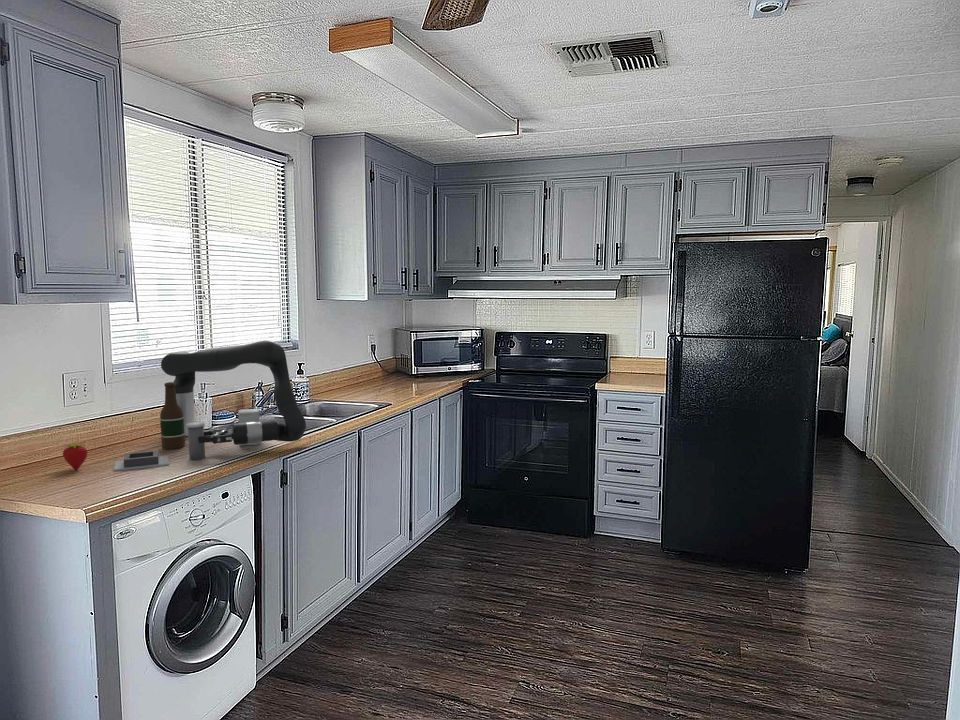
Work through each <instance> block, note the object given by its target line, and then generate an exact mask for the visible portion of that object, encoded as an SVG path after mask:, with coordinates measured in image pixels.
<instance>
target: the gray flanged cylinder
mask: <svg viewBox="0 0 960 720" xmlns="http://www.w3.org/2000/svg"><path fill="white" fill-rule="evenodd" d="M205 425H206V423H205V422H203V421H195V422H193V423H188V424H186V427H188V436H187V439H188V457H189V458H188V459H189V460H190V461H199V460H205V458H206V446H205V443H199V442H198V437H199V436H204V431H205Z"/></svg>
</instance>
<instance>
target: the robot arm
mask: <svg viewBox="0 0 960 720" xmlns="http://www.w3.org/2000/svg"><path fill="white" fill-rule="evenodd" d="M245 364H258V365H262V366H263V367H264V366H265V367H268V368H269V370H270V372H271V373H272V376H273V379H274V387H273V396H274V401H275V404H276V407H277V409H278V412H279V415H280V416H281V417H283V420H284V423H277V421H275V420H267V421H260V422H245V423H239V422H236V423H235V422H234V423H233V424H232V428H231V429H229V427H221V428H210V429H209V430H204V436H199V437H198V442H199V443H206V444H207V443H211V444H214V445H216V444H222V443H223V444H224V443H225V444H226V443H231V442H232V443H233V445H235V446H237V445H238V446H239V445H240V444H250V443H257V442H260V443H261V442H269V441H270V442H271V441H277V442H295V441H299V440H301V439H302V438H303V436H304V434H305V432H306V429H307V423H306V419H305V416H304V415H303V412H302V410H301V409H300V408H299V405H298V402H297V399H296V397H295V393H294V391H293V388H292V384H291V380H290V379H291V378H290V375H289V368H288V362H287V356H286V352H285V349H284V347H282V346H281V345H280V344H278V343H276V342H273V341H270V340H259V341H255V342H250V343H248V344H242V345H229V346H228V345H227V346H219V347H212V348H207V349H202V350H198V351H193V352H189V351H178V352H177V351H175V352H170V353H168V354H166V355H165V356H163V358H162V359H161V363H160V368H161V370H162V371H163V373H165V374H166V375H168V376H171V377H174V380H173V382H174V383H175V384H176V385H175V392H176V399H177V404H178V405H179V406H180V408H181V409H182V411H183V417H184V434H185V437H188V427H186V424H188V423H193V422H196V413H195V412H196V410H195V395H194V394H195V393H194V391H195V390H194V387H195V384H196V372H198V373H199V372H200V373H201V372H202V373H204V372H205V373H206V372H208V373H210V372H227V371H231V370H234V369H236V368H238V367H239V366H241V365H245Z"/></svg>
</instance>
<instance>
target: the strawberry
mask: <svg viewBox="0 0 960 720" xmlns="http://www.w3.org/2000/svg"><path fill="white" fill-rule="evenodd" d="M77 440H78V438H76V439H75V442H77ZM85 446H86V445H85V444H84V443H83V442H82V443H81V442H80V443H75V444H73V443H72V444H66V448H65V449H64V450H63V451H62V456H63V459H64V460H65V462H66V463H68V465H70V467H71V468H72V469H73V470H75V469H77V470H79V469H80V467H81V466H82V465H83V464H84V462H85V460H86V459H87V456H88V449H87V448H86V447H85Z"/></svg>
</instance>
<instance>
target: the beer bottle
mask: <svg viewBox="0 0 960 720" xmlns="http://www.w3.org/2000/svg"><path fill="white" fill-rule="evenodd" d="M163 385H164V394H165V396H164V405H163V407H162V409H161V411H160V415H159V416H160V417H159V420H160V421H159V422H160V423H159V424H160V440H161V447H162V449H163V450H166V451H167V450H178V449H182V448H184V447H185V446H186V443H185V442H186V436H185V434H184V417H183V411H182V409H181V408H180V406H179V405H178V404H177V399H176V392H175V385H176V384H175V383H174V381H168V382H165V383H164V384H163Z"/></svg>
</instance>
